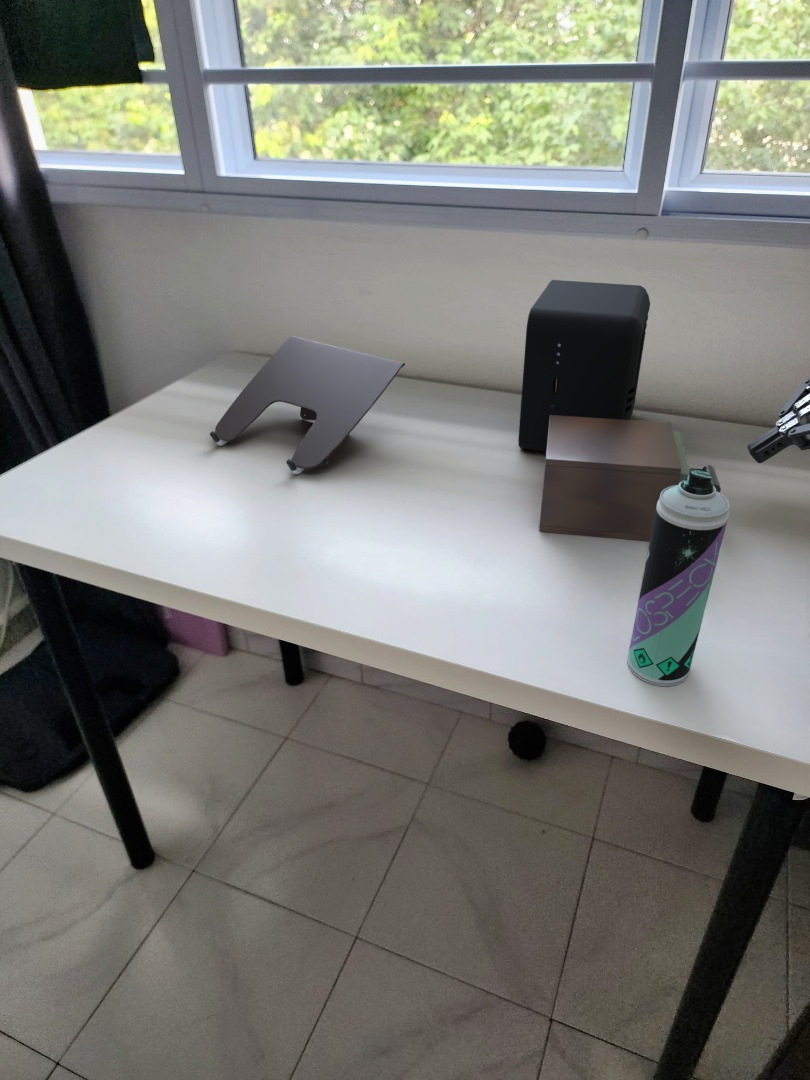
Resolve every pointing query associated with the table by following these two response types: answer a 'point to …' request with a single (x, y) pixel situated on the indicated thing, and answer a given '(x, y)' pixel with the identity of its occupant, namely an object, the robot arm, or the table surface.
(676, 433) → the drawer
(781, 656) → the table surface
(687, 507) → the spray can
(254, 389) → the laptop tray
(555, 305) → the black nas enclosure
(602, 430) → the cabinet
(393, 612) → the table surface
